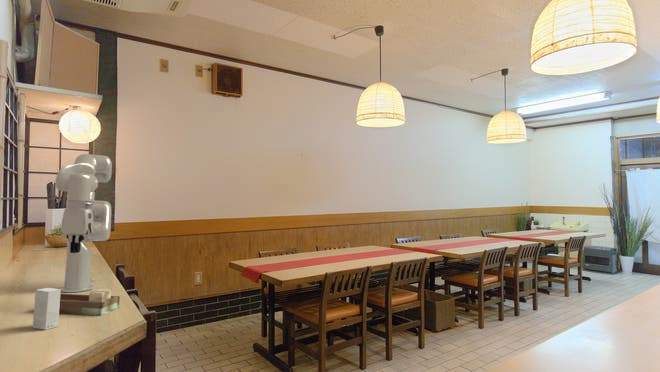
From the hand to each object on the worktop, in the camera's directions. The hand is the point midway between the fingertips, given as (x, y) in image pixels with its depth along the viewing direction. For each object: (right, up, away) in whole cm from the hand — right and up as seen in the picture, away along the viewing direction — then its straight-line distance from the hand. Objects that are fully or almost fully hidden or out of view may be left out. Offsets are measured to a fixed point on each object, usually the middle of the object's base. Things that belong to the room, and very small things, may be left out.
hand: (75, 252), depth 147 cm
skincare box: (+8, -20, -26) cm, 33 cm away
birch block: (+13, -18, -6) cm, 23 cm away
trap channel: (+5, -21, -6) cm, 22 cm away
